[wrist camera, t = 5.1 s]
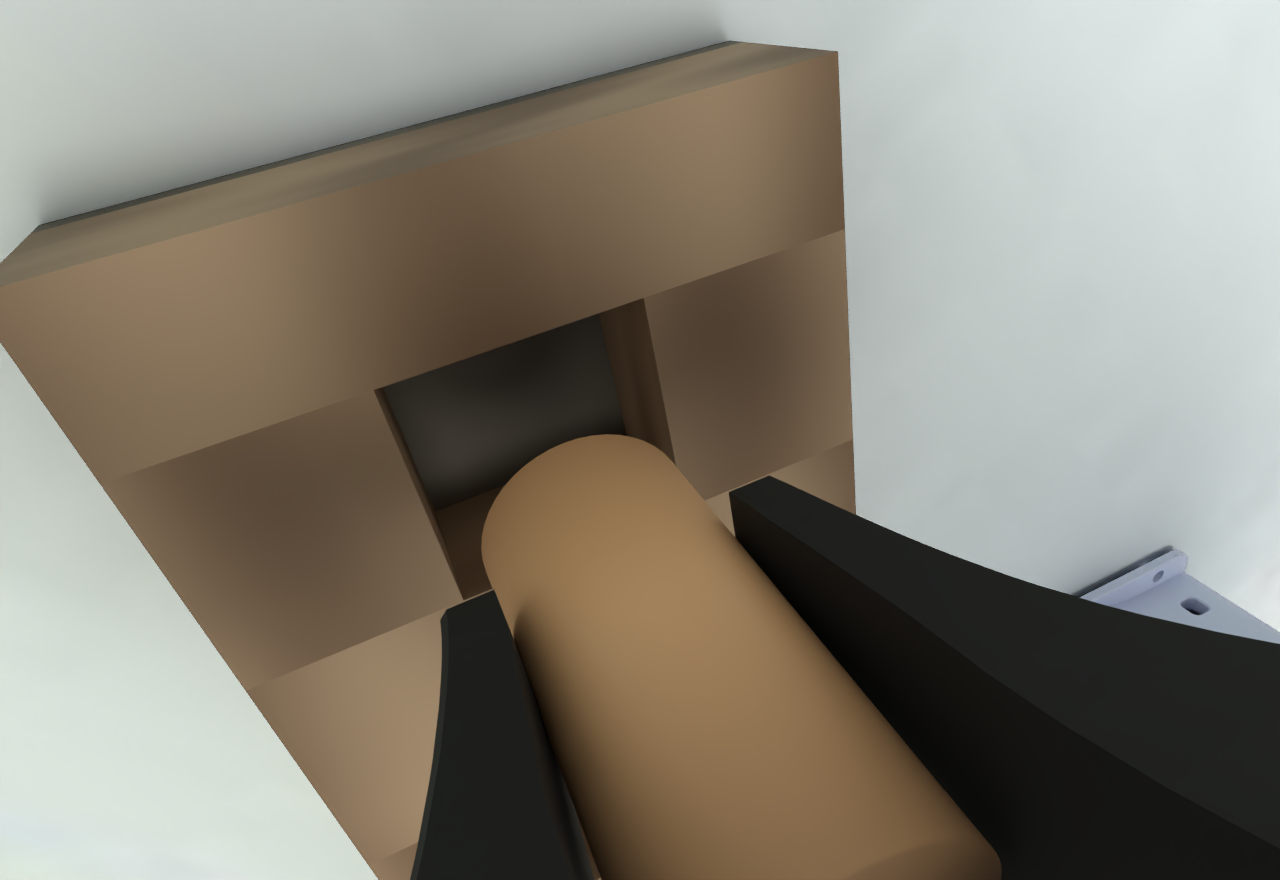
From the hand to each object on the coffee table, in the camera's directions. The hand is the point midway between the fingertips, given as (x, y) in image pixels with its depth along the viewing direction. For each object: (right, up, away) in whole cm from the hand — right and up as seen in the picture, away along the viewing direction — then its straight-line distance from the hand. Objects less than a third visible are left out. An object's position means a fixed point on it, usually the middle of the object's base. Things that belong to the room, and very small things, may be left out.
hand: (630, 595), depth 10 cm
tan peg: (-1, +1, +2) cm, 2 cm away
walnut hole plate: (-2, -1, +9) cm, 9 cm away
